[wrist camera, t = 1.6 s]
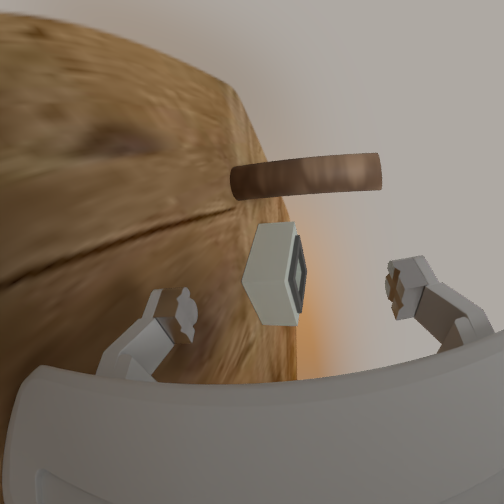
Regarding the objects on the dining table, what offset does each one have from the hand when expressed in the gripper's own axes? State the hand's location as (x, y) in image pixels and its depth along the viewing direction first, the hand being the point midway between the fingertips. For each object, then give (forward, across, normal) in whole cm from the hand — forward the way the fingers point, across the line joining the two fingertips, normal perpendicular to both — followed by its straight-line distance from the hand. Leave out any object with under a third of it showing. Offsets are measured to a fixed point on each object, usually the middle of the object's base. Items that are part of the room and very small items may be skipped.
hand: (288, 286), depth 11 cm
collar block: (+20, -5, -18) cm, 28 cm away
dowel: (+22, -5, -5) cm, 23 cm away
